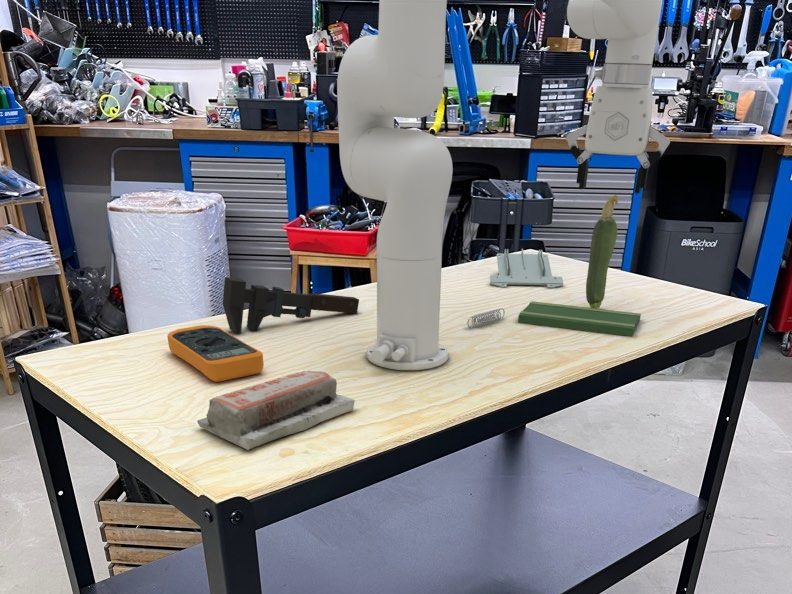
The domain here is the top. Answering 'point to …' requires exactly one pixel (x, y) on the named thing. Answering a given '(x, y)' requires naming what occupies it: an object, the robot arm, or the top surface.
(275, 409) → the packaged product
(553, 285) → the metal bracket
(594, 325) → the green rectangular slab
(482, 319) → the spring
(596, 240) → the vegetable
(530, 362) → the top surface
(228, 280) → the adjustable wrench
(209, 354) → the multimeter
